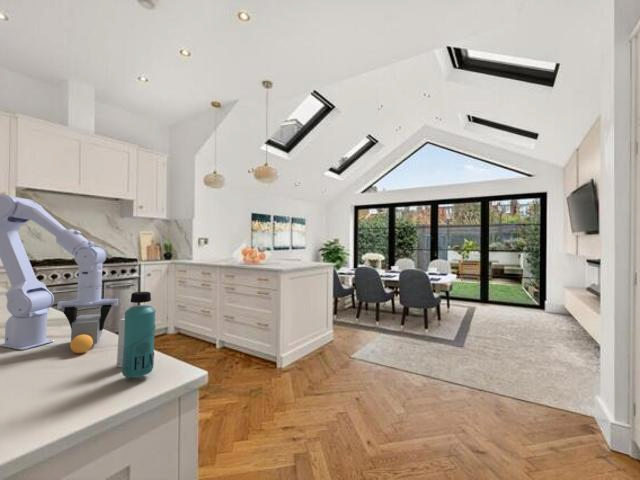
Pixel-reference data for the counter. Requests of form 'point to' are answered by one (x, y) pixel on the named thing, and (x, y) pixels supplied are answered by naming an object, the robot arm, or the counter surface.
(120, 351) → the skincare box
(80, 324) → the tall gray prism
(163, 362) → the counter surface
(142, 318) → the beverage bottle
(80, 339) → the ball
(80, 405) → the counter surface
